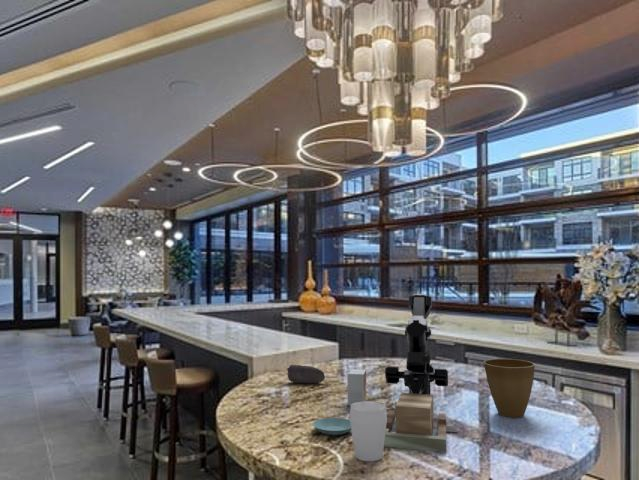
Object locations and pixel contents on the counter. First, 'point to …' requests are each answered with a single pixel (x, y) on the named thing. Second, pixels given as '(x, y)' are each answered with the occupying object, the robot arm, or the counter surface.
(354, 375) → the small box
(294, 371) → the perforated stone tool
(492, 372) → the plant pot
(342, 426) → the saucer
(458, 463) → the counter surface
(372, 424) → the cup
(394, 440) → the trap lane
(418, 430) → the walnut block
